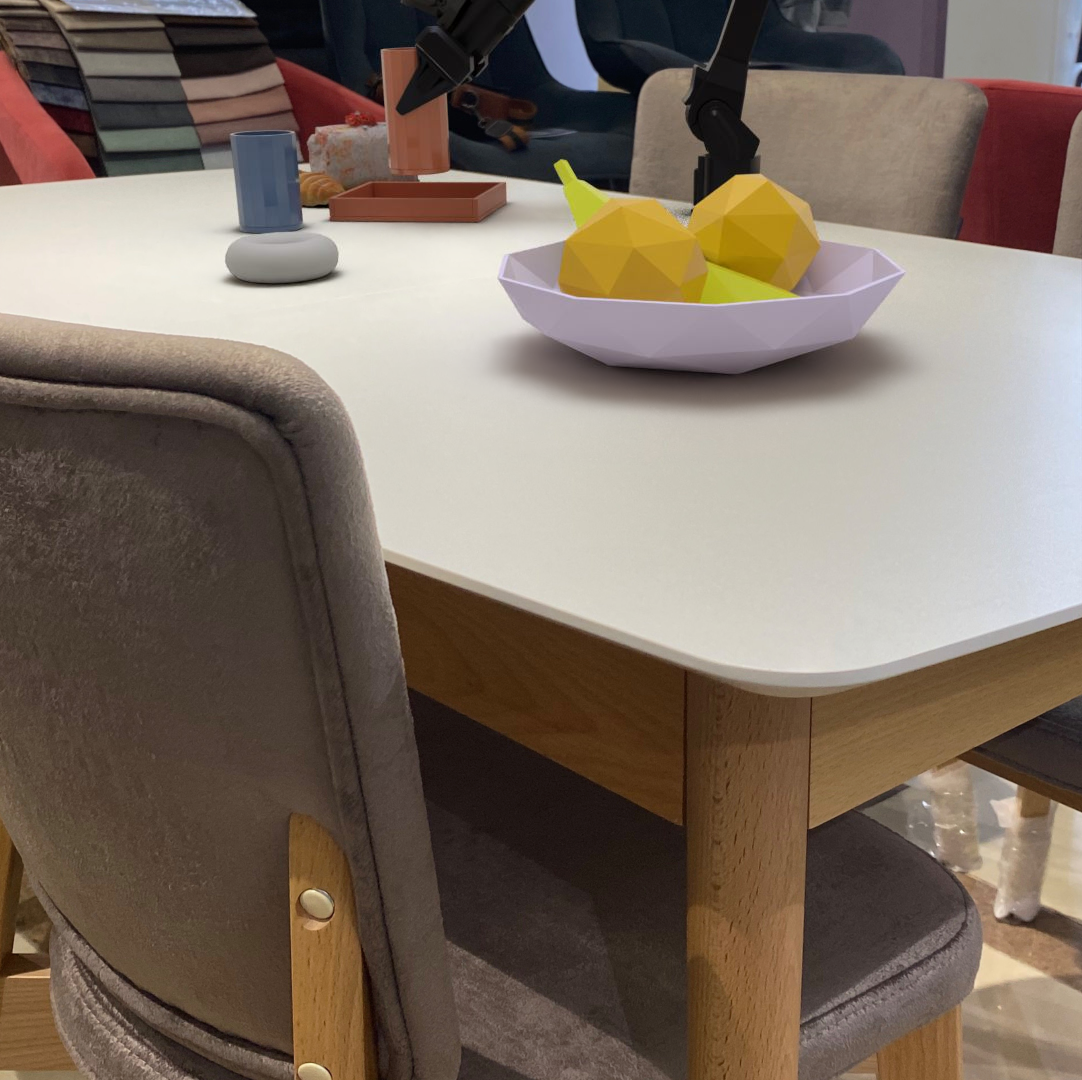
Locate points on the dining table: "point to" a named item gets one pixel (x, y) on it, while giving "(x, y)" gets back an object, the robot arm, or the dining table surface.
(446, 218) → the tray
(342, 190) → the pastry
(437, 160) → the terracotta cup
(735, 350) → the fruit bowl
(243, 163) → the slate cup
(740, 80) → the robot arm
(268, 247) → the donut
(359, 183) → the food item
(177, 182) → the dining table surface
